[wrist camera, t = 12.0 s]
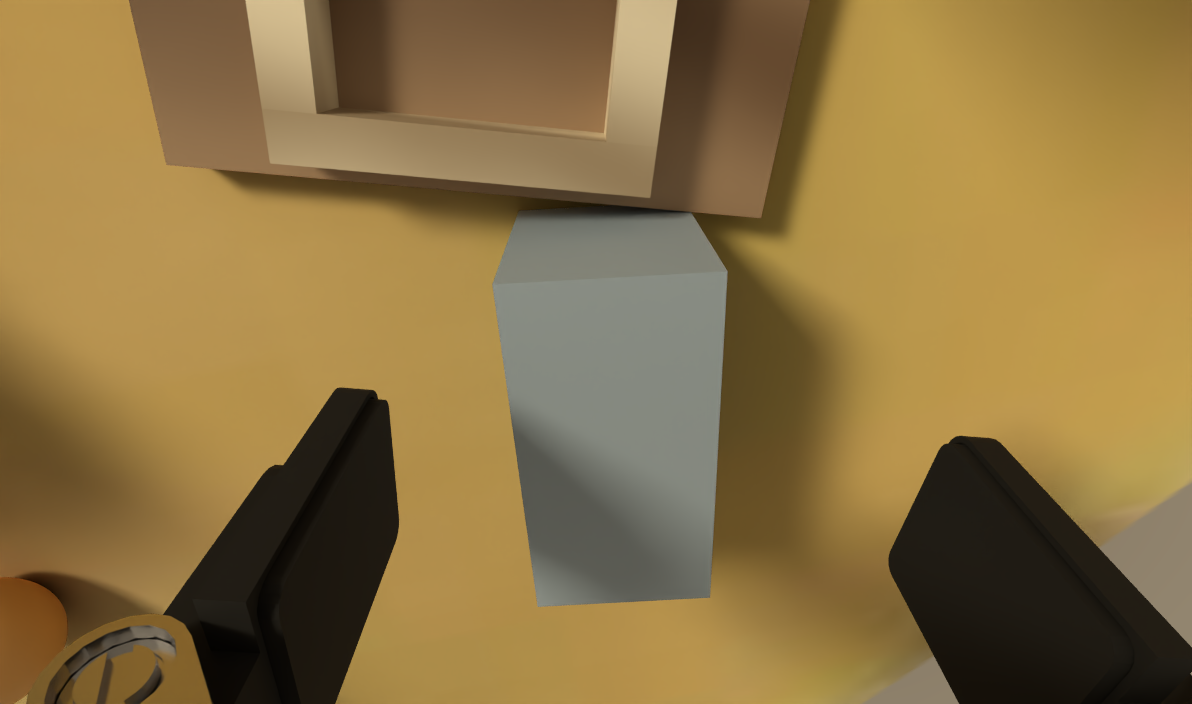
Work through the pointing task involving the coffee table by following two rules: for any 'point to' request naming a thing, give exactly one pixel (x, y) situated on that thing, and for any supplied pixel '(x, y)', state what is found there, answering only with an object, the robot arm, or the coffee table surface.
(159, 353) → the coffee table surface
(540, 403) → the wing block
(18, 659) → the figurine
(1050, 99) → the coffee table surface
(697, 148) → the jig
